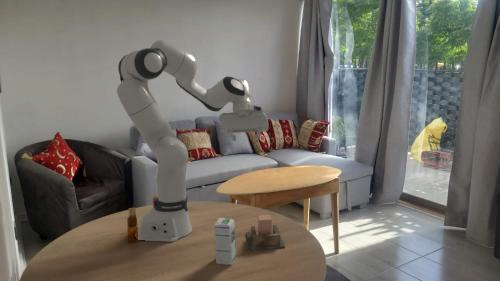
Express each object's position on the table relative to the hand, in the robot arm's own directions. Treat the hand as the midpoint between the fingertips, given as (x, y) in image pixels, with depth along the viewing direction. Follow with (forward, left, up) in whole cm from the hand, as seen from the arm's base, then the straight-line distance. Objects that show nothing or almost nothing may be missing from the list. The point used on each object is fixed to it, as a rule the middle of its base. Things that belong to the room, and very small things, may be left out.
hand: (245, 139), depth 160 cm
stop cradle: (+5, -22, -34) cm, 41 cm away
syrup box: (-10, -34, -34) cm, 50 cm away
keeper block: (+5, -22, -34) cm, 41 cm away
